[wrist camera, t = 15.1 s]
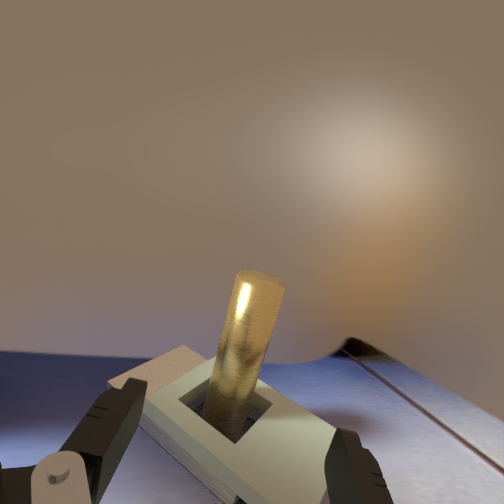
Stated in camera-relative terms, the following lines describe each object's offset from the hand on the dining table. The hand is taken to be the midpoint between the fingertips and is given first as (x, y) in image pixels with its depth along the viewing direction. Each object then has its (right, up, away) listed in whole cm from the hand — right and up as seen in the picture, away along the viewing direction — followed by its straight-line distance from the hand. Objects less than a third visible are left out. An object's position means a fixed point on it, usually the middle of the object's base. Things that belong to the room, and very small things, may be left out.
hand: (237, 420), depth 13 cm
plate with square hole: (0, -7, +9) cm, 12 cm away
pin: (-2, -6, +10) cm, 12 cm away
